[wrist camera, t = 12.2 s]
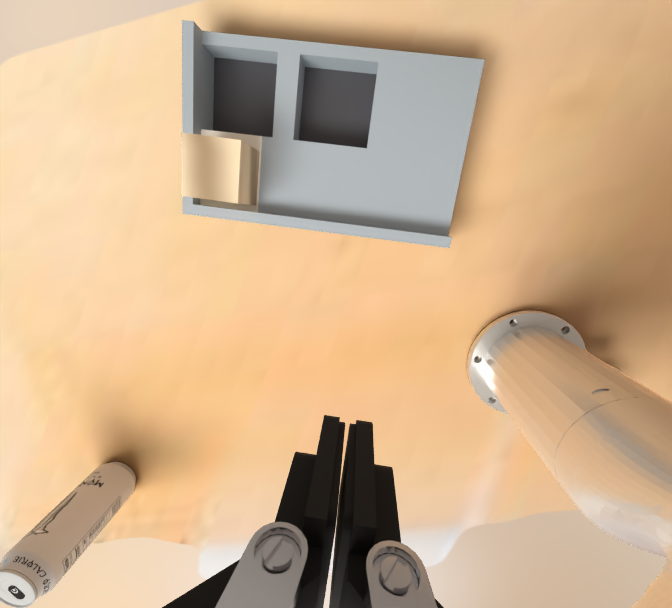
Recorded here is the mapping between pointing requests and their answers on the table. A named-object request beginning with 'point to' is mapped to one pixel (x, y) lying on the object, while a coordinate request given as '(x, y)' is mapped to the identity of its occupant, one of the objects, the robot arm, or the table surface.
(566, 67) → the table surface
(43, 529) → the energy drink can
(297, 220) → the board
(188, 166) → the maple cube
